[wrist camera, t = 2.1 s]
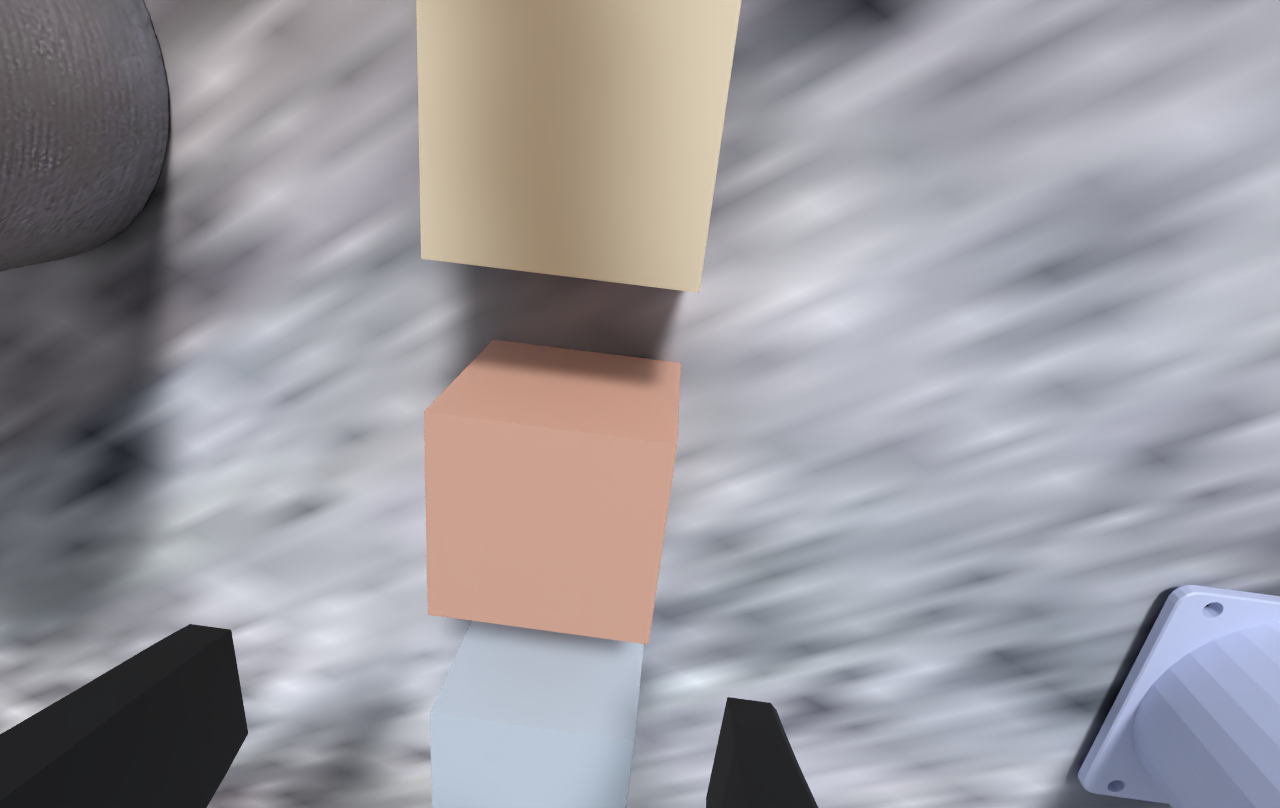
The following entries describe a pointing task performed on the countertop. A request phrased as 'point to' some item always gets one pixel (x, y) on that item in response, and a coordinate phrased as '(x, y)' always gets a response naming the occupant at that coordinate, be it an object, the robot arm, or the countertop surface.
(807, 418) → the countertop surface
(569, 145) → the maple block
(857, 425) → the countertop surface
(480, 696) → the blue-grey block
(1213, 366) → the countertop surface
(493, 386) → the terracotta block
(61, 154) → the pillar candle
